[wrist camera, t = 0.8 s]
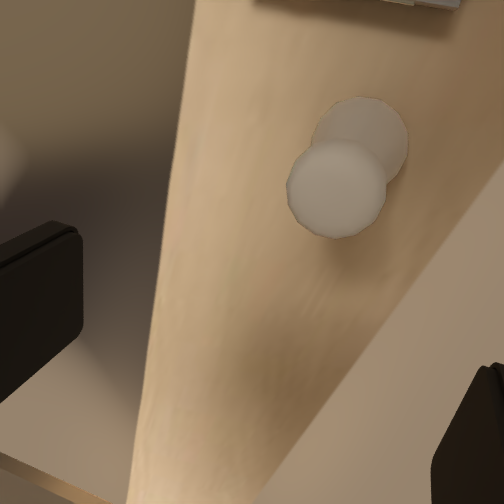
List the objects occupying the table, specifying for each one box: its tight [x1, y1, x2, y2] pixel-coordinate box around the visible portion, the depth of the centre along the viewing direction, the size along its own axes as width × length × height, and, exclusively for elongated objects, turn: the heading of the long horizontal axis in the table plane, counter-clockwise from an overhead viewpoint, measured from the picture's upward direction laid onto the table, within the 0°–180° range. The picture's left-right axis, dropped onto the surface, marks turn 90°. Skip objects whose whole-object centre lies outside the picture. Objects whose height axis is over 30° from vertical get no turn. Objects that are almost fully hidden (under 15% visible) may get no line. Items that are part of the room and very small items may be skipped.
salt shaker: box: [286, 96, 408, 239], centre depth 24 cm, size 6×6×13 cm
